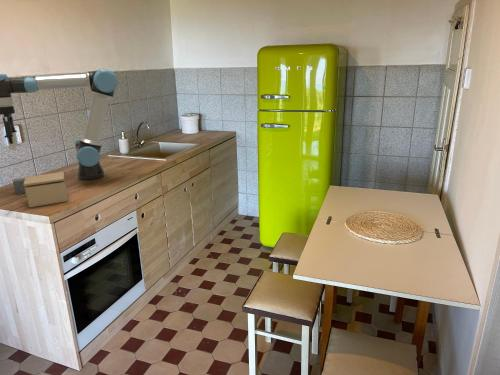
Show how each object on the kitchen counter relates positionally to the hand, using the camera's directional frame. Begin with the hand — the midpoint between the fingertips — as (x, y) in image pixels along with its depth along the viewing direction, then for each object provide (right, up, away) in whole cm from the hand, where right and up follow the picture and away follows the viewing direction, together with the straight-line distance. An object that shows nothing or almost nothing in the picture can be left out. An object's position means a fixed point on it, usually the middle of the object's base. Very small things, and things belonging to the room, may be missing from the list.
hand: (14, 147), depth 196 cm
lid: (+21, -17, -8) cm, 28 cm away
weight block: (+1, -23, +8) cm, 25 cm away
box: (+21, -27, -5) cm, 34 cm away
